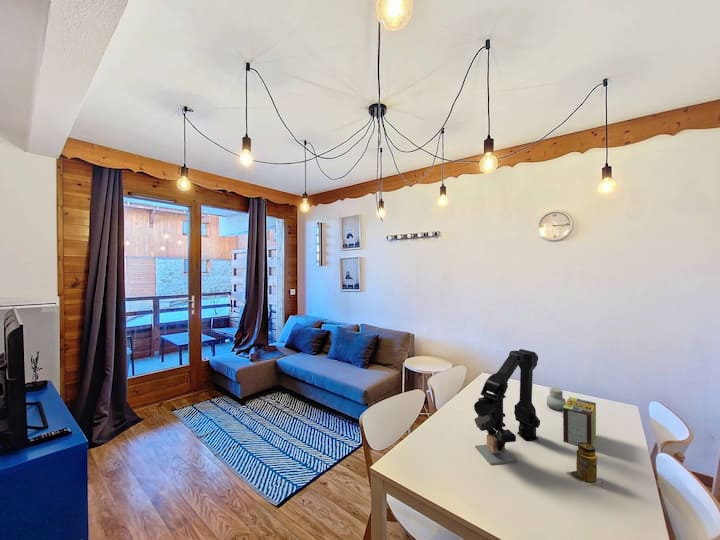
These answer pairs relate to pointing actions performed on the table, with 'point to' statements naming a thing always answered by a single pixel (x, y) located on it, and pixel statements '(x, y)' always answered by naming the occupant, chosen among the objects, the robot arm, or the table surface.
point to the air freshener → (556, 399)
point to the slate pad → (495, 455)
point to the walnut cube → (493, 444)
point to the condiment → (585, 465)
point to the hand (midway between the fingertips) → (495, 446)
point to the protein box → (579, 421)
